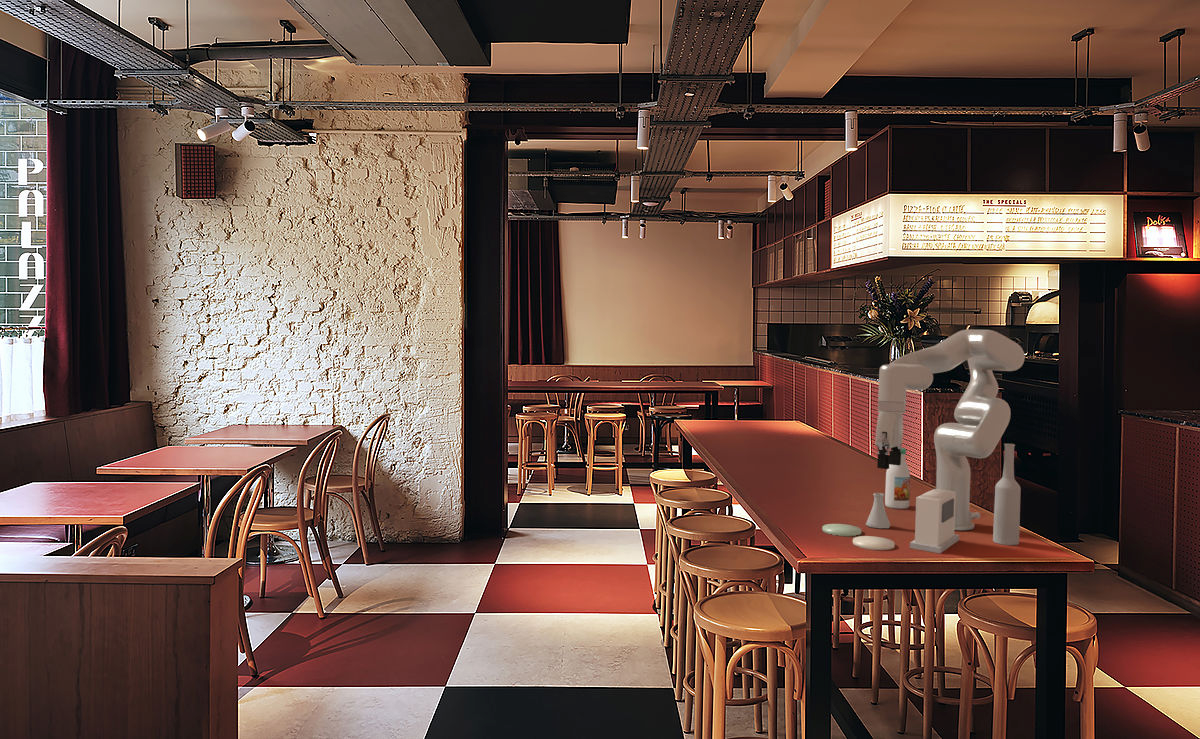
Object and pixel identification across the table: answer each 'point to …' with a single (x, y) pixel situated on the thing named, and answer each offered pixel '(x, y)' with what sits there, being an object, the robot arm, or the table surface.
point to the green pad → (841, 529)
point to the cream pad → (873, 543)
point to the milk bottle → (898, 484)
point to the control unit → (935, 521)
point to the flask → (878, 513)
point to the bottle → (1007, 503)
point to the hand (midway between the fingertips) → (889, 466)
